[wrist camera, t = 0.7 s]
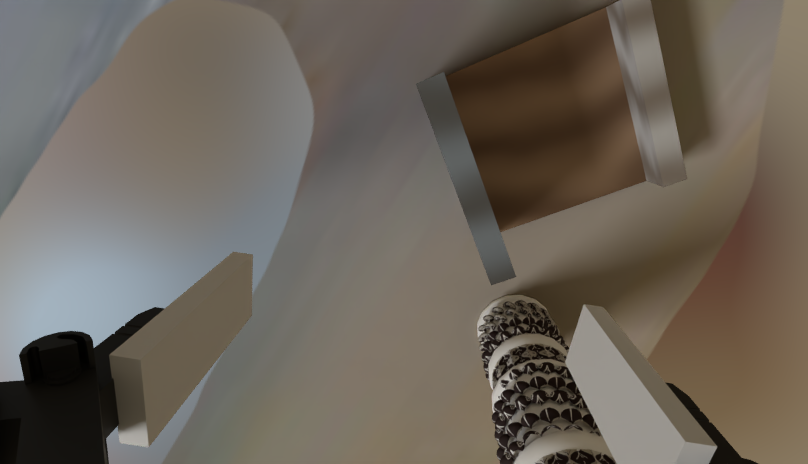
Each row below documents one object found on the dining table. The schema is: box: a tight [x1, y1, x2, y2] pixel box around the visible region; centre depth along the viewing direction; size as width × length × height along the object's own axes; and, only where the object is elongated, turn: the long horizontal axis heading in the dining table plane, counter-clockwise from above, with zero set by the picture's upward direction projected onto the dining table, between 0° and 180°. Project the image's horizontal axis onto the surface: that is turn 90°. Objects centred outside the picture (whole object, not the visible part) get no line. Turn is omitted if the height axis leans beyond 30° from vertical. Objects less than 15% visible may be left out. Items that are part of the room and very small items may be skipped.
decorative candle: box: [477, 295, 616, 464], centre depth 35 cm, size 9×9×25 cm
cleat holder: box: [416, 0, 687, 285], centre depth 34 cm, size 16×19×12 cm
